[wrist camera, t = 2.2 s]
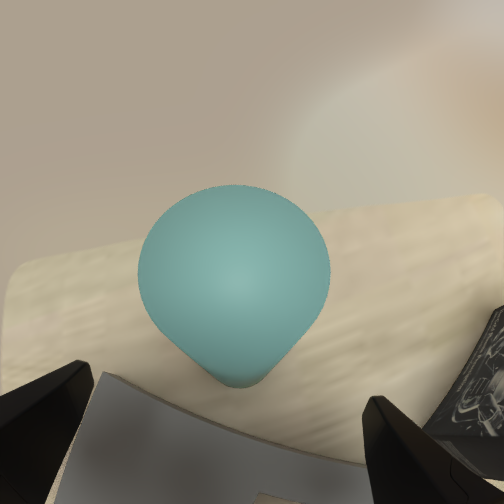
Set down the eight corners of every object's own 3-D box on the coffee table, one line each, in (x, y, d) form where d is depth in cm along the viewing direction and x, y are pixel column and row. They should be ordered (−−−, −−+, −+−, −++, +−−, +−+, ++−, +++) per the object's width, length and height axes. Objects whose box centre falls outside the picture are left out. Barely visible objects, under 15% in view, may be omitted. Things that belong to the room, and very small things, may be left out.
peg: (258, 397, 18) (295, 391, 5) (198, 373, 18) (105, 312, 6) (280, 339, 19) (347, 217, 7) (222, 317, 20) (189, 167, 7)
